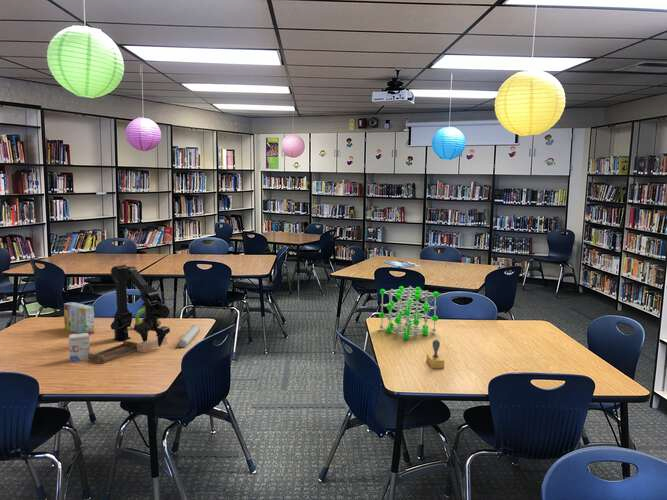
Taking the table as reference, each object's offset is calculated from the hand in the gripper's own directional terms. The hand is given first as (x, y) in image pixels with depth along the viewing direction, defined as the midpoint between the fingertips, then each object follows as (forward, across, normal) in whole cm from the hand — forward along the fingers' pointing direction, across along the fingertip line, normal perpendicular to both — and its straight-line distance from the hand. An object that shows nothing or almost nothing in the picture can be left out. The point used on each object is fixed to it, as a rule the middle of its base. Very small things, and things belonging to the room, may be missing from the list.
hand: (152, 345), depth 261 cm
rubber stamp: (+1, +136, +38) cm, 141 cm away
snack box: (+1, -56, +4) cm, 56 cm away
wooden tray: (+1, -8, -17) cm, 19 cm away
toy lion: (+1, -28, +28) cm, 40 cm away
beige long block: (+1, 0, 0) cm, 1 cm away
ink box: (+1, -18, -28) cm, 33 cm away
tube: (+2, +10, +17) cm, 19 cm away
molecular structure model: (+1, +110, +84) cm, 138 cm away
